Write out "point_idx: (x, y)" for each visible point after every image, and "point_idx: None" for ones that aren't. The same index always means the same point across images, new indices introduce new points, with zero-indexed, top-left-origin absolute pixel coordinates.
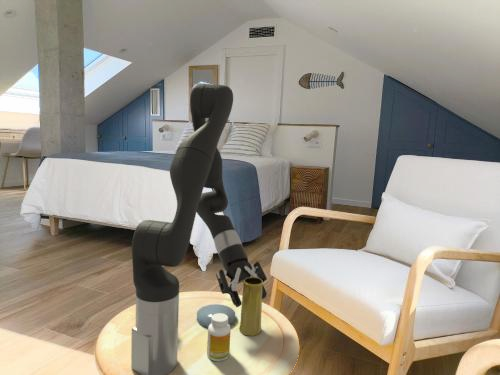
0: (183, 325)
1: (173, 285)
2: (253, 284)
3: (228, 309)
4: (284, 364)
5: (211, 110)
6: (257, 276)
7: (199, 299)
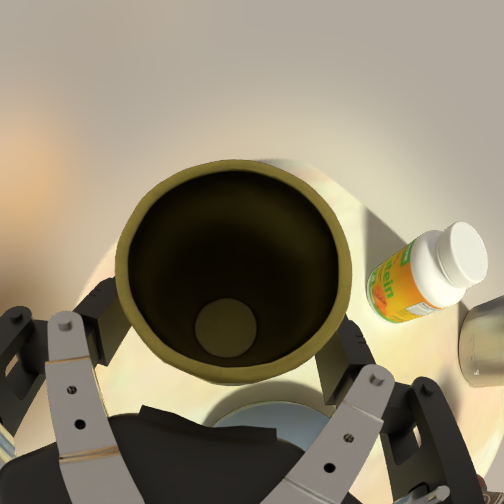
0: (379, 473)
1: None
2: (309, 190)
3: None
4: (278, 160)
5: None
6: (25, 399)
7: None
